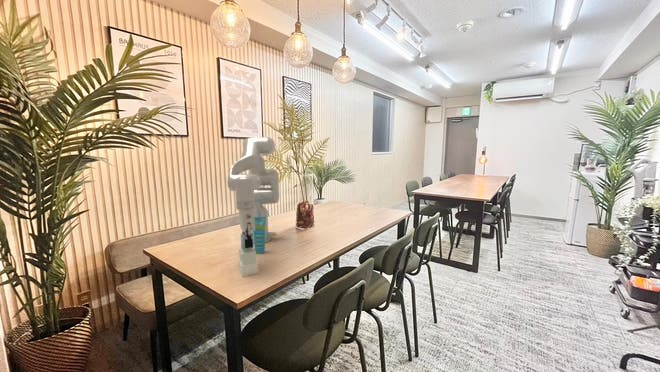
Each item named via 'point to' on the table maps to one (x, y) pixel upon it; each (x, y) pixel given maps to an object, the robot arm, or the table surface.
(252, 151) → the robot arm
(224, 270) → the table surface
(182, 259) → the table surface
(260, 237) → the tube
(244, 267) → the block base
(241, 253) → the block top
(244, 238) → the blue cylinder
